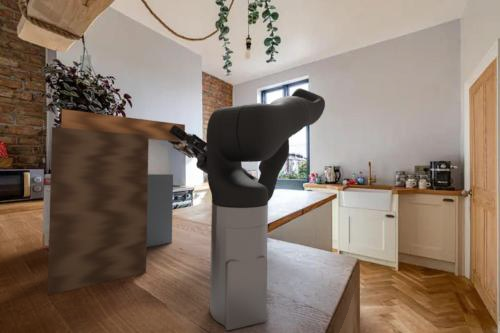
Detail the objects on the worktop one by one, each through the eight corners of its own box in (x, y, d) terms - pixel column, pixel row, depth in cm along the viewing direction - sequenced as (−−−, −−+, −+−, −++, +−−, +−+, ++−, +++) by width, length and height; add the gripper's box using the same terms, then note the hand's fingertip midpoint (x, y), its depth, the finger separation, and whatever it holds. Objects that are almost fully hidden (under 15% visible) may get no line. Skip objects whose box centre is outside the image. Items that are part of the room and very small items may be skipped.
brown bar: (179, 141, 60) (180, 126, 60) (184, 140, 56) (185, 124, 56) (64, 132, 46) (64, 113, 46) (61, 129, 43) (61, 109, 43)
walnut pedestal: (139, 257, 57) (141, 140, 57) (145, 272, 48) (148, 135, 49) (56, 273, 48) (59, 133, 48) (47, 295, 39) (51, 126, 40)
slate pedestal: (163, 234, 76) (165, 173, 77) (171, 242, 68) (173, 174, 68) (108, 242, 67) (110, 173, 68) (110, 253, 59) (112, 174, 59)
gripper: (212, 154, 71) (167, 123, 63) (235, 152, 59) (183, 113, 51) (201, 175, 68) (152, 145, 61) (222, 176, 57) (165, 140, 49)
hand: (166, 130), depth 56 cm, fingers open, 8 cm apart
